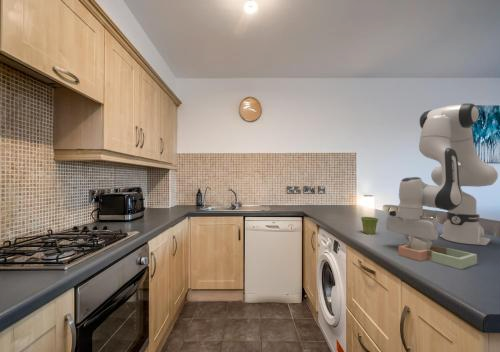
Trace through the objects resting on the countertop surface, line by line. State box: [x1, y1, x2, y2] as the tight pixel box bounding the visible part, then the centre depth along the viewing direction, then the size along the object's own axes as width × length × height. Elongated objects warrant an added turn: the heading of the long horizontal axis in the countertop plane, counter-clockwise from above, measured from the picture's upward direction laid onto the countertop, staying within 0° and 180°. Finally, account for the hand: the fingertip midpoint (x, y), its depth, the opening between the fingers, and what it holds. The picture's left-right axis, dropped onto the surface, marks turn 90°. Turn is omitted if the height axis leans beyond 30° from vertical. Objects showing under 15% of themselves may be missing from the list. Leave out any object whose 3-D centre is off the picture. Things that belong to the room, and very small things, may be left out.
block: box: [410, 237, 433, 251], centre depth 102 cm, size 5×5×6 cm
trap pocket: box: [397, 245, 428, 262], centre depth 97 cm, size 5×8×4 cm, turn 27°
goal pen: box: [430, 247, 478, 270], centre depth 92 cm, size 12×9×4 cm
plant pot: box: [360, 216, 379, 235], centre depth 139 cm, size 9×9×9 cm
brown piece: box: [400, 243, 447, 261], centre depth 101 cm, size 10×12×4 cm
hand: (409, 245), depth 105 cm, fingers closed
